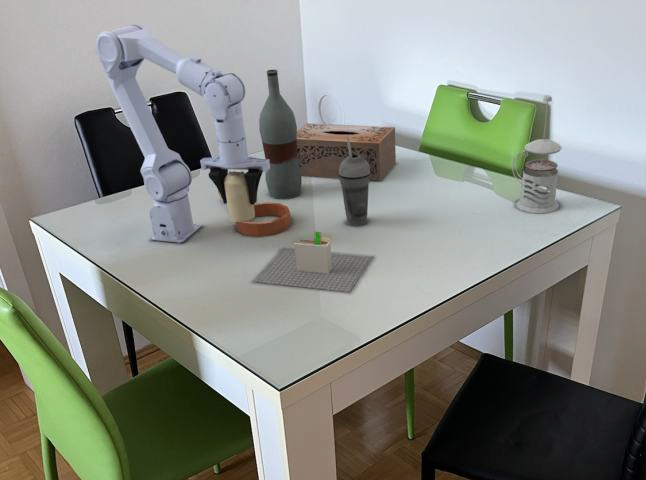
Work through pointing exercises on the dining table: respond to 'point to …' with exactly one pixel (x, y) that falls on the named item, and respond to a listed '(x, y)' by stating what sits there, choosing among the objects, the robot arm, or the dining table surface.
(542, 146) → the french press
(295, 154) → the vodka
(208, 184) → the dining table surface
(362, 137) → the tissue box cover
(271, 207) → the orange faceted bracelet
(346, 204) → the beverage cup
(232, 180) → the candle
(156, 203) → the robot arm
